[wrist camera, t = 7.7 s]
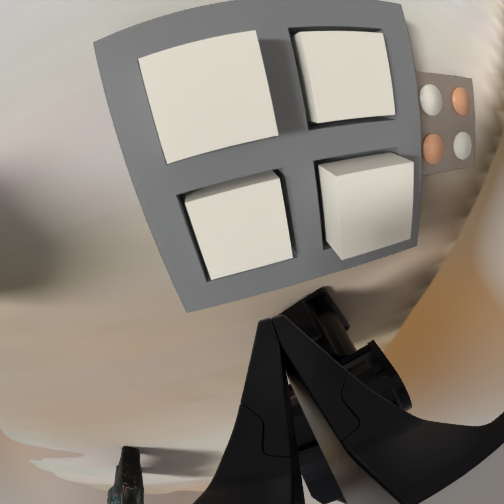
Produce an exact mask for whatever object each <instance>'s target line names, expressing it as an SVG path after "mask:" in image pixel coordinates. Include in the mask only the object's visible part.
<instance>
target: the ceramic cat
mask: <svg viewBox="0 0 504 504" xmlns="http://www.w3.org/2000/svg"><path fill="white" fill-rule="evenodd" d="M107 503H108V504H144V487H143V479H142V470H141V465H140V452H139V450H138V449H135V448H129V447H125V446H124V447H123V448H122V453H121V458H120V462H119V466H118V465H117V468H116V474H115V483H114V486H113V487H111V489H109V491H108V499H107Z"/></svg>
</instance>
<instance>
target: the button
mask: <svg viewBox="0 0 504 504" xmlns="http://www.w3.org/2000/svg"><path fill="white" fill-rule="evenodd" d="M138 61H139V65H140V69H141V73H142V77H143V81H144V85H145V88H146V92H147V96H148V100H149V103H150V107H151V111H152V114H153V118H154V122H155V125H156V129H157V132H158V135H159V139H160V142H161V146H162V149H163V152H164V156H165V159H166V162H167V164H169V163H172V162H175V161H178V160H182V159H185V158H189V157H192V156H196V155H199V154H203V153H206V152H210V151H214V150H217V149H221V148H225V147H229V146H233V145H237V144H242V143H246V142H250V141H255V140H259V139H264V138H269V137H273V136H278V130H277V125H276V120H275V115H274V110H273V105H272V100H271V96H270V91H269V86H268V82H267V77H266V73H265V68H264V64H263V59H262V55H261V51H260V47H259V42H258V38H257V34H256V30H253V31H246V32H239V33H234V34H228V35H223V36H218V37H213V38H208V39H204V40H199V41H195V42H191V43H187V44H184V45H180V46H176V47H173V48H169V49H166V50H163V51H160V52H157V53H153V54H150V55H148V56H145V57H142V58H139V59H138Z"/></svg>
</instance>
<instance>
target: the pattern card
mask: <svg viewBox="0 0 504 504" xmlns="http://www.w3.org/2000/svg"><path fill="white" fill-rule="evenodd" d="M415 75H416V83H417V91H418V101H419V112H420V127H421V176H423V175H428V174H434V173H439V172H444V171H450V170H455V169H461V168H467V167H472V166H474V154H475V115H474V96H473V85H472V79H471V78H465V77H458V76H451V75H443V74H435V73H424V72H415Z"/></svg>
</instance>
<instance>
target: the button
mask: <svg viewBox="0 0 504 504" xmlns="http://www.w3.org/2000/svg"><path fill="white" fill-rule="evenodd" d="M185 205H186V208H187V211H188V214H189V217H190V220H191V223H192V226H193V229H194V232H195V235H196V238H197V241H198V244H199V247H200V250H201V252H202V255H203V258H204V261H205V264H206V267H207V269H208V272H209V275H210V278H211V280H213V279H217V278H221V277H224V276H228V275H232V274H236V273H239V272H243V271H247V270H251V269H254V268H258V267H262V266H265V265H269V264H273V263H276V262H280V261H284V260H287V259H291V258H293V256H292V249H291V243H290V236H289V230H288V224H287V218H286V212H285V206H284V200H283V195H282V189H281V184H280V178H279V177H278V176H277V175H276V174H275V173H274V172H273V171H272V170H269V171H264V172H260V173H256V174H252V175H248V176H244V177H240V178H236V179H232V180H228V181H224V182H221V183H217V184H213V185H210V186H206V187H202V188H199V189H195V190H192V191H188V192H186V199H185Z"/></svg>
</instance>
